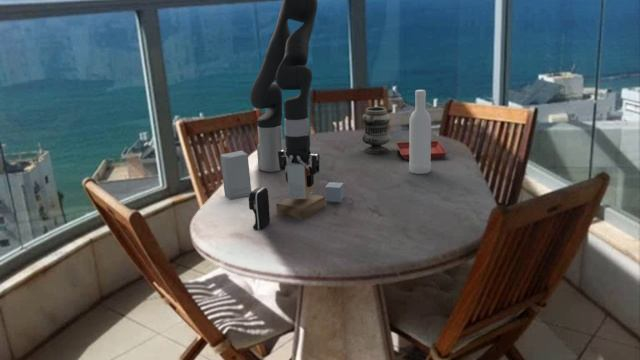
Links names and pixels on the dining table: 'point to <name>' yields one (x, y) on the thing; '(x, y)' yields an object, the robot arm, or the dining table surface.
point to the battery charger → (260, 207)
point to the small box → (297, 181)
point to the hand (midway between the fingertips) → (300, 184)
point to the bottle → (420, 136)
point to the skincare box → (235, 174)
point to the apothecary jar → (376, 129)
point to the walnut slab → (301, 206)
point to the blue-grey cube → (334, 192)
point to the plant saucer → (436, 150)
